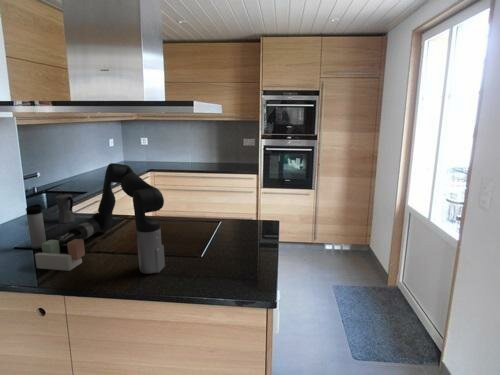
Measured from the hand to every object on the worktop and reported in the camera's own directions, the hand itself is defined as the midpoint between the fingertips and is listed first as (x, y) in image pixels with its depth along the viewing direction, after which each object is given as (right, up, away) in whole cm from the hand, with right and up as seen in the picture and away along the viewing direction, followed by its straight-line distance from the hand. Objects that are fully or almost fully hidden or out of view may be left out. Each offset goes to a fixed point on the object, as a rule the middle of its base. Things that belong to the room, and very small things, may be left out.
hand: (55, 246), depth 147 cm
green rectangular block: (-1, -5, -1) cm, 5 cm away
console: (+4, -7, -3) cm, 9 cm away
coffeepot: (-24, +5, +55) cm, 60 cm away
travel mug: (-17, -3, +17) cm, 24 cm away
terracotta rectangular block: (+10, -4, -1) cm, 11 cm away
